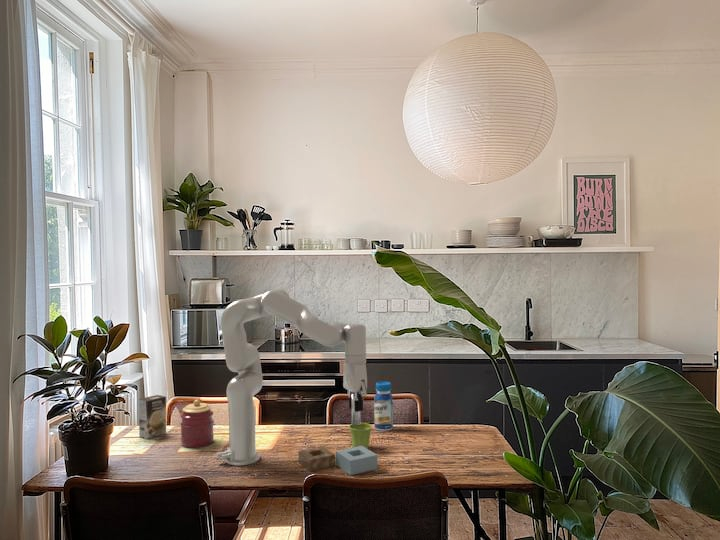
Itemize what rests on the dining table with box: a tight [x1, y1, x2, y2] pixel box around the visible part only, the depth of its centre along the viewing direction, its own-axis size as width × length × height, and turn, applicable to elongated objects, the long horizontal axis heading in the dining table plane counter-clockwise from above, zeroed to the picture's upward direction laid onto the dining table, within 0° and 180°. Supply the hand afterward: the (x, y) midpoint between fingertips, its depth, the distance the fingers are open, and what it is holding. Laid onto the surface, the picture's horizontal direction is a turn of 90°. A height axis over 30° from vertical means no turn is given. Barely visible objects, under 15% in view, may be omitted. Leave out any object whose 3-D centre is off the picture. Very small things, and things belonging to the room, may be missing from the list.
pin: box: [351, 390, 362, 425], centre depth 194 cm, size 3×3×12 cm
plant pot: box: [348, 422, 373, 450], centre depth 214 cm, size 9×9×9 cm
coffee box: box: [138, 394, 167, 440], centre depth 232 cm, size 9×6×16 cm
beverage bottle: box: [373, 381, 394, 432], centre depth 238 cm, size 8×8×20 cm
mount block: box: [298, 446, 336, 472], centre depth 198 cm, size 10×10×4 cm
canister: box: [179, 399, 215, 449], centre depth 222 cm, size 13×13×18 cm
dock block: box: [335, 446, 379, 476], centre depth 195 cm, size 11×11×5 cm
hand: (356, 409), depth 194 cm, fingers closed on pin, 3 cm apart
